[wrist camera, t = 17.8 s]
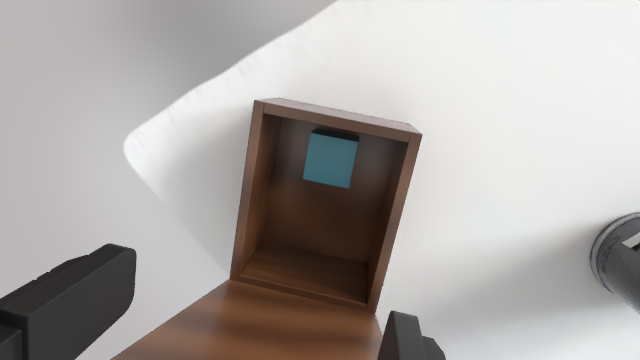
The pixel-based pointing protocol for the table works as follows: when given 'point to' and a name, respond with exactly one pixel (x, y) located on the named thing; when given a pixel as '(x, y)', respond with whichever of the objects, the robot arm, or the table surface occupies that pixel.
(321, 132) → the block
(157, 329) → the lid
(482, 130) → the table surface
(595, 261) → the robot arm
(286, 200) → the chest
